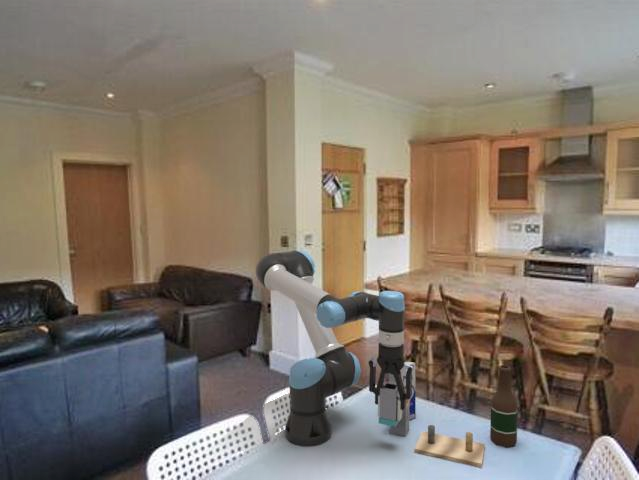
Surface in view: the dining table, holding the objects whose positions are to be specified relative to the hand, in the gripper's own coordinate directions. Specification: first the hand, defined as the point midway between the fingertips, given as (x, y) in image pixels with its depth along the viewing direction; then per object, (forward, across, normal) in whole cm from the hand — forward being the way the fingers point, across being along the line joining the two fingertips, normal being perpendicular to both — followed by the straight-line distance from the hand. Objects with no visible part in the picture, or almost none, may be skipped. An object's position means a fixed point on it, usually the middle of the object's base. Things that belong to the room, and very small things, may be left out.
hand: (389, 416), depth 133 cm
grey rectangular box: (+1, 0, 0) cm, 1 cm away
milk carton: (+10, -1, +20) cm, 22 cm away
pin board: (+9, +17, +5) cm, 20 cm away
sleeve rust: (+10, +1, +10) cm, 14 cm away
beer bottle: (+9, +32, +17) cm, 37 cm away
